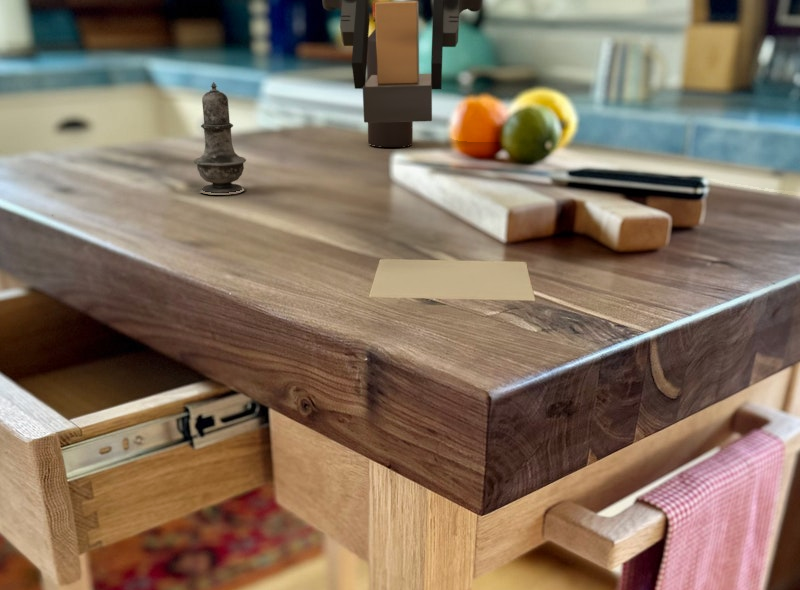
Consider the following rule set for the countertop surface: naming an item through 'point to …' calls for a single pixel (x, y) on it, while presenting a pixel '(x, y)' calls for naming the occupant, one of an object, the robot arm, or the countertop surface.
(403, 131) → the bottle
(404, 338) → the countertop surface
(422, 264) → the memo board
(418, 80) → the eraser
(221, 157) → the salt shaker
